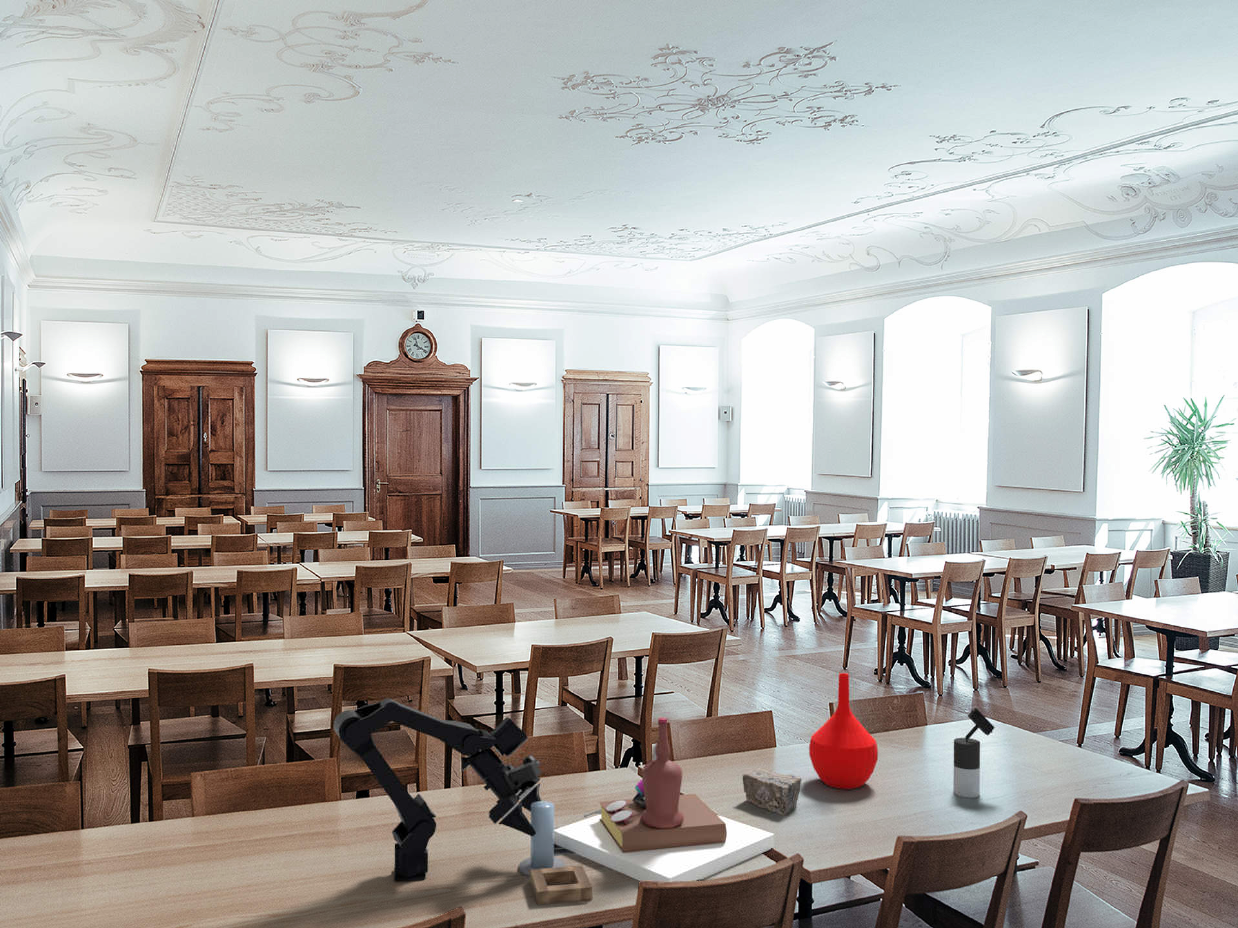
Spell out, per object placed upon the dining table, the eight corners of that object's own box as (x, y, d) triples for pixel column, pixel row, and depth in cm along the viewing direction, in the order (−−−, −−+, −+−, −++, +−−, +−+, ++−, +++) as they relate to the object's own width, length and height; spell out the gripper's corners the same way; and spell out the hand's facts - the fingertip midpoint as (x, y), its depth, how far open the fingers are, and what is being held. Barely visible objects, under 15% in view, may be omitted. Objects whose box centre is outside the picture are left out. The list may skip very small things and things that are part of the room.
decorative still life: (647, 805, 260) (648, 685, 260) (774, 849, 231) (775, 714, 231) (542, 840, 235) (543, 708, 235) (669, 894, 207) (670, 744, 207)
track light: (972, 809, 266) (1022, 753, 268) (930, 766, 264) (981, 709, 266) (960, 801, 273) (1009, 746, 275) (918, 758, 270) (968, 703, 273)
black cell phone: (547, 855, 225) (533, 830, 240) (547, 859, 225) (533, 834, 240) (580, 851, 228) (564, 827, 242) (580, 855, 228) (564, 830, 242)
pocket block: (537, 904, 201) (537, 891, 201) (530, 881, 212) (530, 869, 212) (592, 899, 203) (592, 886, 203) (582, 877, 214) (582, 865, 214)
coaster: (522, 878, 213) (522, 876, 213) (516, 860, 223) (516, 857, 223) (569, 875, 215) (569, 872, 215) (561, 856, 225) (561, 854, 225)
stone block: (806, 807, 258) (807, 777, 258) (785, 816, 251) (785, 785, 251) (761, 794, 268) (762, 765, 268) (740, 802, 261) (740, 772, 261)
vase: (825, 768, 290) (826, 664, 289) (888, 781, 279) (888, 672, 279) (797, 785, 275) (798, 675, 274) (861, 799, 264) (862, 684, 264)
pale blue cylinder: (532, 870, 216) (532, 809, 216) (529, 861, 221) (529, 801, 221) (555, 868, 217) (555, 808, 217) (551, 859, 222) (552, 800, 222)
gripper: (503, 759, 211) (554, 817, 208) (531, 736, 229) (578, 789, 227) (467, 794, 213) (517, 852, 210) (498, 768, 231) (544, 821, 228)
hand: (541, 827), depth 219 cm, fingers open, 9 cm apart
